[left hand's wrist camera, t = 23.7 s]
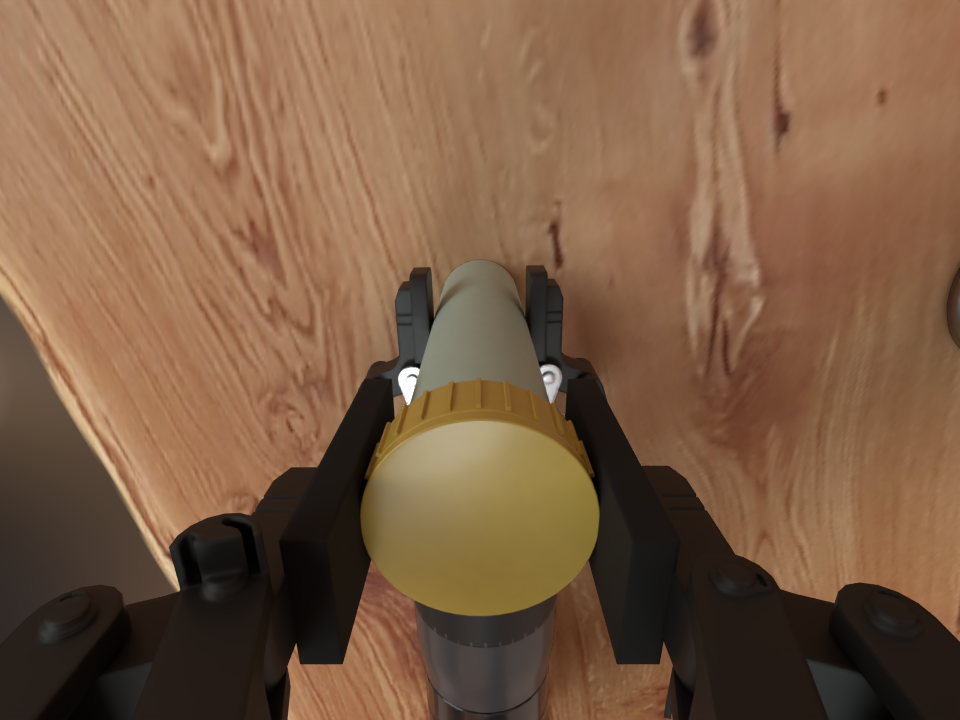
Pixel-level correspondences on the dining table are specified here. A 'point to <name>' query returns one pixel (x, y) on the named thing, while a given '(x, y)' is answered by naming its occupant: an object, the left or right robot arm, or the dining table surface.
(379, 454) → the lid
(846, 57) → the dining table surface
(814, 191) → the dining table surface
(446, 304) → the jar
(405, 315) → the right robot arm
